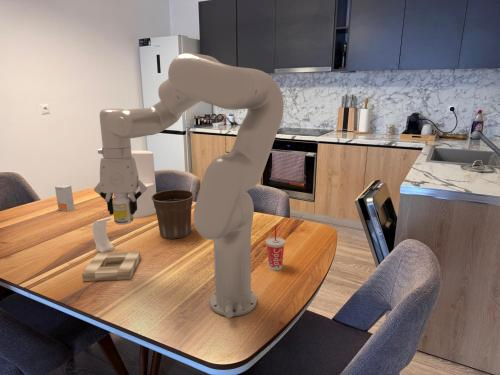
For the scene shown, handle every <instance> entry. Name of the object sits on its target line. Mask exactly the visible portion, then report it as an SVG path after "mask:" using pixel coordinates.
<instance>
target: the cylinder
mask: <svg viewBox="0 0 500 375" xmlns="http://www.w3.org/2000/svg"><path fill="white" fill-rule="evenodd" d="M131 153H132V157H134V159H135V162H136V166H137V171H138V177H139V180H140V181H141V182H142V183H143V184H144V185H145V186H146V187H147V190H146V191H145V192H144V193H143V194H142V195H141V196H140V197H139V198H138V199H137V211H136V212H135V213H134V214H133V219H134V218H136V219H137V218H144V217H149V216H151V215H154V214H156V209H155V207H154V203H153V200H152V199H151V197H152V195H154V194H155V193H157V186H156V173H155V160H154V159H155V158H154V151H150V150H131ZM140 190H141V189H140V188H137V190H136V193H137V192H138V191H140ZM128 196H129V194H128ZM129 197H130V196H129Z"/></svg>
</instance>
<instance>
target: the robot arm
mask: <svg viewBox="0 0 500 375" xmlns="http://www.w3.org/2000/svg"><path fill="white" fill-rule="evenodd" d="M157 90H158V92H157V94H158V98H159V101H158V102H157V103H155V104H154V105H152V106H150V107H147V108H146V107H145V108H144V107H141V108H131V109H124V108H105V109H101V111H99V123H100V124H99V125H100V134H101V143H102V147H101V148H98V149H97V154H99V155H100V154H101V155H102V158H100V162H99V182H98V183H97V184H96V186H95V187H94V188H93V191H94V192H95V193H97V194H98V195H99V196H100V197H101V198H102V199H104V201H105V202H106V205H107V207H106V208H107V211H108V212H109V216H113V215H114V213H113V204H112V200H113V199H114V198H113V196H114V193H129V196H130V198H131V202H130V210H131V214H132V215H133V214H134V213H135V212H136V211H137V199H138V198H139V197H140V196H141V195H142V194H143V193H144V192H145V191H146V190H147V187H146V186H145V185H144V184H143V183H142V182H141V181H140V180H139V177H138V171H137V166H136V162H135V159H134V157H132V153H131V151H132V145H131V139H135V138H142V137H149V136H154V135H158V134H159V133H161V132H163V131H165V130H166V129H168V128H170V127H172V126H173V125H174V124H175V123H177V122H178V121H179V119H180V118H181V117H182V115H183V113H184V112H186V111H189V109H191V108H192V107H194V106H195V105H197V104H198V103H200V102H203V103H206V104H209V105H212V106H215V107H218V108H221V109H225V110H231V111H234V110H236V111H237V110H245V109H246V110H247V111H246V113H245V114H246V115H245V117H244V119H243V120H242V122H241V124H240V125H239V128H238V130H237V134H236V137H235V140H234V143H233V145H232V148H231V150H230V151H229V152H227V153H225V154H223V155H220V156H217V157H216V158H214V159H213V160H212V161H211V162H210V163H209V164H208V166H207V167H206V169H205V172H204V175H203V176H202V181H201V184H200V188H199V191H198V194H197V197H196V201H195V203H194V209H193V215H192V216H193V217H192V221H193V225H194V227H195V229H196V231H197V233H198V234H199V236H201V238H205V239H207V240H213V263H214V264H213V266H214V267H213V268H214V269H213V270H214V287H215V288H214V290H215V291H214V292H213V293H212V295H210V297H209V305H210V308H211V309H212V310H213V312H215V313H216V314H219V315H222V316H224V317H226V318H227V319H229V318H232V317H239V316H244V315H246V314H249V313H251V312H252V311H253V310H254V309H255V308H256V306H257V303H258V297H257V295H256V293H255V292H254V291H252V256H251V255H252V228H253V227H252V226H253V220H254V212H255V211H254V209H255V208H254V201H253V198H252V197H251V195H250V193H248V191H249V190H251V189H253V188H254V187H256V186H257V185H258V184H259V183H260V181H261V179H262V177H263V173H264V171H265V169H266V165H267V162H268V159H269V157H270V154H271V151H272V149H273V144H274V142H275V139H276V137H277V134H278V131H279V128H280V126H281V123H282V119H283V117H284V115H283V114H284V109H285V108H284V97H283V93H282V91H281V88H280V86H279V84H278V83H277V82H276V81H275V79H274V78H273V77H272V76H271V75H269V73H266V72H265V71H264V70H260V69H256V68H252V67H251V68H249V67H241V66H233V65H230V64H229V65H228V64H225V63H221V61H219V60H218V59H216V58H215V57H213V56H210V55H207V54H206V55H205V54H200V53H199V54H198V53H193V52H184V53H180V54H178V55H177V56H175V58H173V59H172V61H171V63H170V64H169V67H168V71H167V79H166V80H164V81H163V82H161V84H160V85H159V86H158V89H157ZM137 188H140V189H141V190H140V191H138V192H137V193H136V190H137Z"/></svg>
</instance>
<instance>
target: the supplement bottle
mask: <svg viewBox="0 0 500 375" xmlns="http://www.w3.org/2000/svg"><path fill="white" fill-rule="evenodd" d="M128 194H129V193H113V196H114V198H113V200H112V204H113V220H114V223H115V224H116V225H118V226H122V225H123V226H125V225H129V224H132V222H134V218H133V215H132V214H131V210H130V202H131V198H130V197H129V196H128Z"/></svg>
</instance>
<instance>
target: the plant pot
mask: <svg viewBox="0 0 500 375" xmlns="http://www.w3.org/2000/svg"><path fill="white" fill-rule="evenodd" d="M194 195H195V194H194V192H193V191H190V190H187V189H186V190H185V189H167V190H163V191H158V192H156V193H155V194H154V195H152V197H151V199H152V200H153V203H154V207H155V209H156V213H155V214H156V220H157V225H158V230H159V234H160V236H161V237H162V238H164V239H170V240H175V239H176V238H177V239H183V238H185V237H187V236H189V235H190V234H191V232H192V206H193V199H194Z"/></svg>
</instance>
